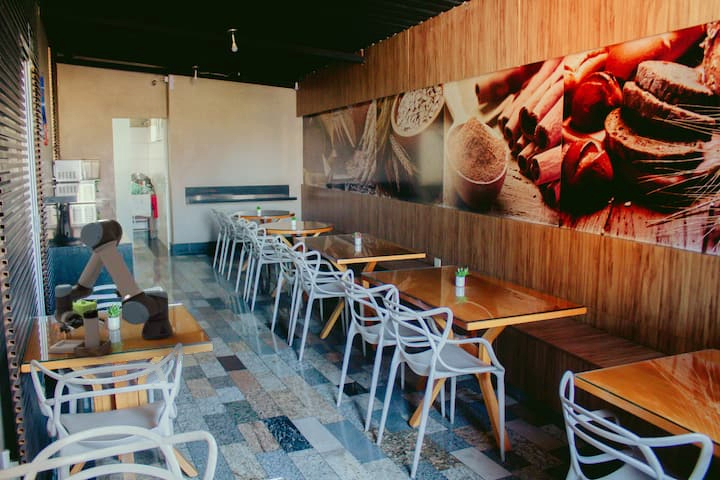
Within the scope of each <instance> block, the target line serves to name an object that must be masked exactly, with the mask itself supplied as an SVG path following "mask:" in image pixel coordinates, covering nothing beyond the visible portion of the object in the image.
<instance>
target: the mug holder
mask: <svg viewBox="0 0 720 480" xmlns="http://www.w3.org/2000/svg"><path fill="white" fill-rule="evenodd" d="M111 349H113V347H112V339H100V347H85V341H83V342H82V343H80V344H79V345H77V346H76V347H74V353H73V357H74V358H75V357H76V358H77V357H78V358H79V357H81V358H82V357H84V358H85V357H88V358H89V357H91V358H92V357H94V358H95V357H98V358H99V357H103V356H104V355H106V354H107V352H109V351H110V350H111Z"/></svg>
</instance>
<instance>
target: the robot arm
mask: <svg viewBox="0 0 720 480" xmlns="http://www.w3.org/2000/svg"><path fill="white" fill-rule="evenodd" d="M123 233H124V232H123V227H122V225H121V223H120V222H119V221H117V220H115V219H114V218H113V219H112V218H106V219H99V220H91V221H89V222H86V223H85V224H84V225H82V227H81V229H80V234H79V236H80V240H81V242H82V244H83V245H85V246H87V247H89V248H90V249H91V250H92V255H91V257H90V258H89V260H88V262H87V264H86V266H85V267H84V270H83V271H82V273H81V275H80V277H79V279H78V280H77V282H76V284H75V285H73V286H72V285H71V284H58V285H56V286H55V288H54V297H55V311H54V313H53V318H54V320H56V321H57V323H59V324H60V326H59V333H64V334H68V333H69V334H71V335H72V336H75V335H76V330H77V329H79V328H81V327H84V319H83V318H82V316H81V315H79V314H77V313H75V312H73V302H78V301H81V300H84V299H87V298H88V297H91V296H92V295H93V294H94V291H95V290H94V289H95V287H94V285H95V283H96V281H97V279H98V277H99V276H100V274H101V273H102V270H103V269H104V267H105V269H106V271H107V272H108V274H109V276H110V279H111V280H112V282H113V283H114V285H115V286H116V289H118V291H119V293H120V294H121V296H122V298H121V301H120V303H122V304H121V317H122V316H123V318H124V319H123V320H124V321H125V322H127V323H129V324H130V325H134V326H137V325H141V324H143V326H142V329H141V338H142V339H143V340H150V341H152V340H153V341H154V340H155V341H156V340H163V339H167V338H170V337H173V335H174V329H173V326H172V325H171V322H170V318H169V317H170V316H169V314H170V313H169V312H170V311H169V293H168V292H167V291H165V290H146V291H145V290H142V289H140V288H139V286H138V283H136V282H137V281H136V280H135V278H134V276H133V275H132V273H131V271H130V269H129V268H128V266H127V264H126V262H125V260H124V258H123V256H122V254H121V253H120V251H119V249H118V246H119V244H120V242H121V241H122V238H123ZM122 305H123V307H122ZM98 319H99V328H101V329H103V330H105V329H106V320H105V318H99V317H98Z"/></svg>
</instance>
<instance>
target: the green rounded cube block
mask: <svg viewBox="0 0 720 480" xmlns="http://www.w3.org/2000/svg"><path fill="white" fill-rule="evenodd" d="M97 301H98V299H94V300H93V301H87V300H85V299H81V300H80V301H79V302H78V301H74V302H73V312H75V313H77V314H79V315H81V316H82V318H83V313H84V312H86V311H90V310H98V302H97Z"/></svg>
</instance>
